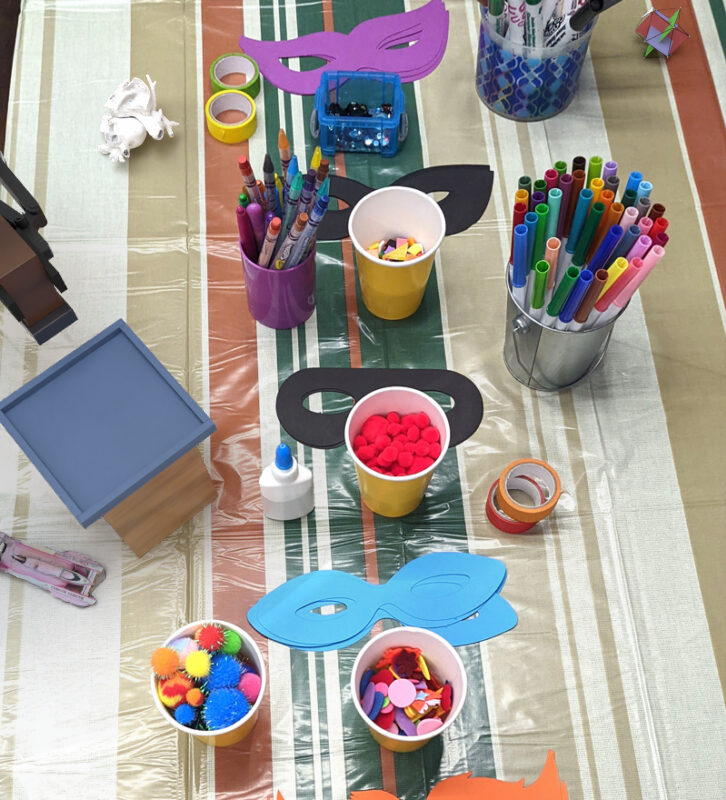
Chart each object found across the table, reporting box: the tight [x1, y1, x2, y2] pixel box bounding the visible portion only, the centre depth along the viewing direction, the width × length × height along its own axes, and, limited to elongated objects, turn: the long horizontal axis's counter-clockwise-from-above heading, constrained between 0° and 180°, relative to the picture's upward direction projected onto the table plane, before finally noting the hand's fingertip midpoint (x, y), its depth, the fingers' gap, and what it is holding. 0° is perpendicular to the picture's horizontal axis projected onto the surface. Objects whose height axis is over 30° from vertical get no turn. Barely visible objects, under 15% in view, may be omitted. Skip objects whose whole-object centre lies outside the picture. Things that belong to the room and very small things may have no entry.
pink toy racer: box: [0, 530, 106, 609], centre depth 102 cm, size 13×6×4 cm, turn 72°
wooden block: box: [102, 445, 220, 559], centre depth 99 cm, size 12×12×20 cm
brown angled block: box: [0, 214, 79, 347], centre depth 84 cm, size 10×5×10 cm, turn 41°
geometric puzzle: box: [634, 6, 691, 59], centre depth 131 cm, size 7×7×8 cm
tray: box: [0, 317, 218, 530], centre depth 89 cm, size 16×16×2 cm
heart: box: [97, 74, 180, 164], centre depth 125 cm, size 12×7×12 cm
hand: (38, 297), depth 81 cm, fingers closed on brown angled block, 4 cm apart
